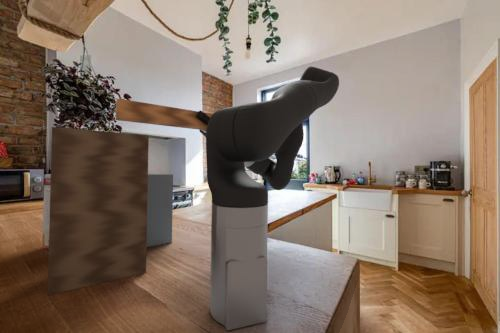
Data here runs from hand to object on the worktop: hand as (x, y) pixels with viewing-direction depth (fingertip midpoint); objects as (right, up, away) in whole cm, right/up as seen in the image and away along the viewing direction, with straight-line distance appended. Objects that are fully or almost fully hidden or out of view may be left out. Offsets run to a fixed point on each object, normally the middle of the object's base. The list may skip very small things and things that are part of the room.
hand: (194, 115), depth 60 cm
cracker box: (-36, -37, +4) cm, 52 cm away
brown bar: (-5, -3, -3) cm, 7 cm away
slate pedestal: (-19, -37, +8) cm, 42 cm away
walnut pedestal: (-17, -37, -12) cm, 42 cm away
